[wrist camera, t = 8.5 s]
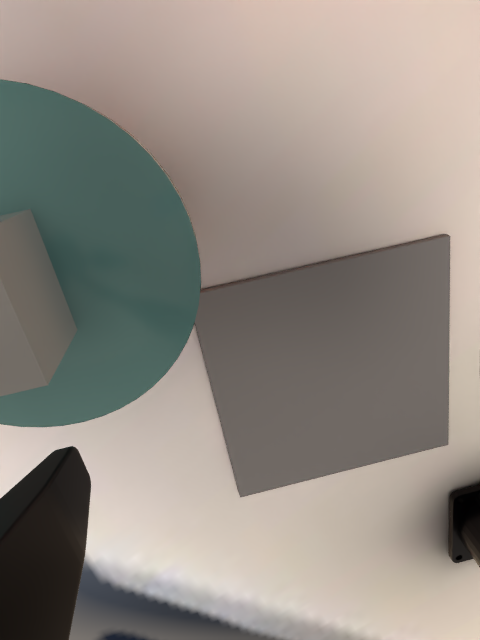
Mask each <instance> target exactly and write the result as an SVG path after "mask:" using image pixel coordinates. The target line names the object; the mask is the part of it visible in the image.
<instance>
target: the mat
mask: <svg viewBox="0 0 480 640" xmlns="http://www.w3.org/2000/svg"><path fill="white" fill-rule="evenodd" d="M449 307H450V236H449V235H446V234H444V235H440V236H435V237H431V238H427V239H422V240H418V241H414V242H409V243H405V244H400V245H396V246H392V247H387V248H383V249H379V250H374V251H370V252H365V253H361V254H357V255H352V256H348V257H344V258H339V259H335V260H330V261H326V262H322V263H317V264H313V265H309V266H304V267H300V268H296V269H291V270H287V271H282V272H278V273H274V274H269V275H265V276H261V277H256V278H252V279H247V280H243V281H239V282H234V283H230V284H226V285H221V286H217V287H212V288H208V289H204V290H200V298H199V306H198V310H197V314H196V318H195V325H196V329H197V333H198V337H199V341H200V345H201V348H202V352H203V356H204V360H205V364H206V368H207V372H208V375H209V379H210V383H211V387H212V391H213V395H214V399H215V402H216V406H217V410H218V414H219V418H220V422H221V426H222V429H223V433H224V437H225V441H226V445H227V449H228V453H229V456H230V460H231V464H232V468H233V472H234V476H235V479H236V483H237V487H238V491H239V495H240V497H244V496H248V495H252V494H256V493H260V492H263V491H267V490H271V489H275V488H279V487H283V486H287V485H291V484H295V483H299V482H303V481H307V480H311V479H315V478H319V477H323V476H326V475H330V474H334V473H338V472H342V471H346V470H350V469H354V468H358V467H362V466H366V465H370V464H374V463H378V462H382V461H386V460H389V459H393V458H397V457H401V456H405V455H409V454H413V453H417V452H421V451H425V450H429V449H433V448H437V447H441V446H445V445H448V418H449Z"/></svg>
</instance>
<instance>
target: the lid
mask: <svg viewBox="0 0 480 640" xmlns="http://www.w3.org/2000/svg"><path fill="white" fill-rule="evenodd" d="M200 288H201V274H200V259H199V254H198V248H197V242H196V237H195V233H194V230H193V226H192V223H191V220H190V217H189V214H188V212H187V209H186V207H185V205H184V203H183V201H182V198H181V196H180V194H179V192H178V191H177V189H176V187H175V186H174V184H173V183H172V181H171V179H170V178H169V176H168V174H167V173H166V172H165V170H164V169H163V168H162V167H161V165H160V164H159V163H158V162H157V160H156V159H155V158H154V157H153V155H152V154H151V153H150V152H149V151H148V150H147V149H146V148H145V147H144V146H143V145H142V144H141V143H140V142H139V141H138V140H137V139H135V138H134V137H133V136H132V135H131V134H130V133H128V132H127V131H126V130H124V129H123V128H122V127H120V126H119V125H118V124H117V123H115V122H114V121H113V120H111V119H109V118H108V117H106V116H104V115H103V114H101V113H99V112H98V111H96V110H94V109H92V108H91V107H89V106H87V105H84V104H82V103H80V102H77V101H75V100H73V99H71V98H68V97H66V96H64V95H61V94H59V93H56V92H54V91H50V90H47V89H43V88H40V87H37V86H33V85H30V84H26V83H20V82H13V81H7V80H1V79H0V424H4V425H12V426H19V427H52V426H64V425H69V424H75V423H80V422H85V421H88V420H91V419H95V418H98V417H101V416H104V415H106V414H109V413H111V412H113V411H116V410H118V409H120V408H122V407H124V406H125V405H127V404H129V403H131V402H132V401H134V400H136V399H137V398H139V397H140V396H141V395H143V394H144V393H145V392H147V391H148V390H149V389H150V388H152V387H153V386H154V385H155V384H156V383H157V382H158V381H159V380H160V379H161V378H162V377H163V376H164V375H165V374H166V373H167V372H168V370H169V369H170V368H171V366H172V365H173V364H174V362H175V361H176V360H177V358H178V357H179V355H180V353H181V351H182V350H183V348H184V346H185V344H186V343H187V340H188V338H189V335H190V333H191V330H192V328H193V325H194V322H195V318H196V314H197V310H198V306H199V298H200Z"/></svg>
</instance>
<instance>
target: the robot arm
mask: <svg viewBox="0 0 480 640" xmlns="http://www.w3.org/2000/svg"><path fill="white" fill-rule="evenodd" d="M90 492H91V480H90V476H89V473H88V471H87V469H86V467H85V465H84V462H83V460H82V458H81V456H80V453H79V451H78V450H77V449H76V448H75V447H73V446H71V447H66V448H62V449H58V450H55V451H54V452H52V453H51V454H50V455H49V456H48V457H47V458H46V459H44V460H43V461H42V462H41V463H40V464H39V465H38V466H37V467H36V468H34V469H33V470H32V471H31V472H30V473H29V474H28V475H27V476H25V477H24V478H23V479H22V480H21V481H20V482H19V483H18V484H16V485H15V486H14V487H13V488H12V489H11V490H10V491H9V492H7V493H6V494H5V495H4V496H3V497H2V498H1V499H0V640H69V635H70V630H71V624H72V619H73V614H74V609H75V605H76V599H77V594H78V589H79V584H80V579H81V574H82V569H83V563H84V557H85V550H86V540H87V528H88V516H89V504H90ZM449 556H450V558H451V559H452V561H453V562H455V563H459V562H463V561H466V560H470V559H474V560H475V561H476V563H477V564H478V565H479V567H480V485H476V486H472V487H469V488H465V489H461V490H457V491H455V492H453V493H452V494H451V495H450V506H449Z"/></svg>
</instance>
